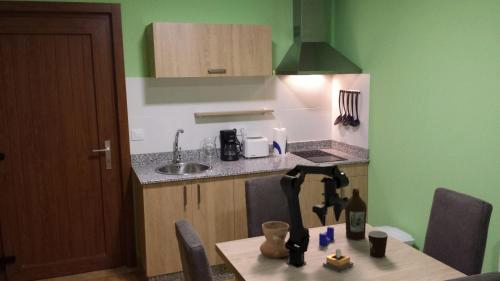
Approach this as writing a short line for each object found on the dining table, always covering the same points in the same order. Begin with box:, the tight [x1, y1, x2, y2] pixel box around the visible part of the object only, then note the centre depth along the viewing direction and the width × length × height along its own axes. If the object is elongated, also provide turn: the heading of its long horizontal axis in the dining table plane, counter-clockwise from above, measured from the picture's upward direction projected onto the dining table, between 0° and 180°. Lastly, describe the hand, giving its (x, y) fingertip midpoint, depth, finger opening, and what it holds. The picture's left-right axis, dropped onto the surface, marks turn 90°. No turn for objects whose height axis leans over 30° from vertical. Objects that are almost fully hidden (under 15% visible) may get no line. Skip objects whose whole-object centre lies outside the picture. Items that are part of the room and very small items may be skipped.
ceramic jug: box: [259, 220, 290, 259], centre depth 207 cm, size 18×14×14 cm
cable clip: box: [318, 226, 335, 247], centre depth 222 cm, size 12×4×6 cm, turn 149°
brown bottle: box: [344, 187, 368, 241], centre depth 226 cm, size 11×11×25 cm
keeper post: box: [322, 248, 354, 273], centre depth 193 cm, size 9×9×8 cm
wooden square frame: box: [325, 252, 351, 267], centre depth 193 cm, size 7×7×2 cm
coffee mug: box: [367, 230, 389, 259], centre depth 205 cm, size 12×9×10 cm
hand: (330, 223), depth 209 cm, fingers open, 9 cm apart
